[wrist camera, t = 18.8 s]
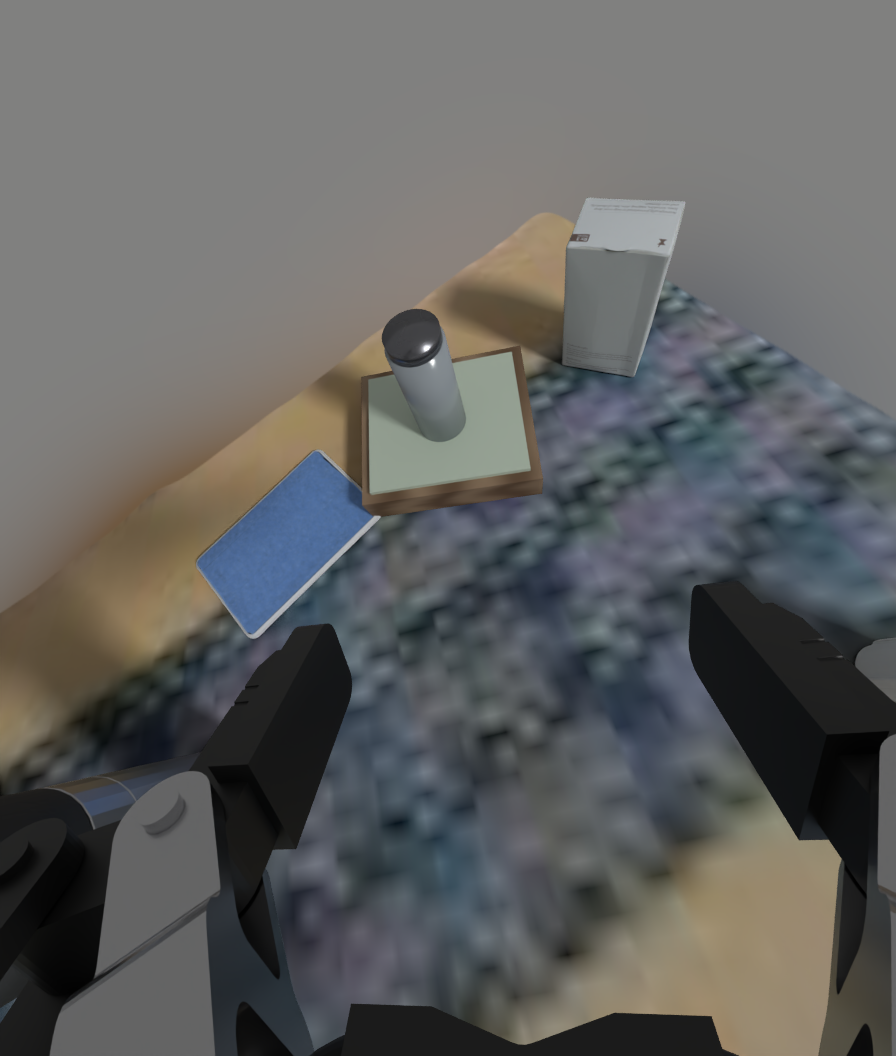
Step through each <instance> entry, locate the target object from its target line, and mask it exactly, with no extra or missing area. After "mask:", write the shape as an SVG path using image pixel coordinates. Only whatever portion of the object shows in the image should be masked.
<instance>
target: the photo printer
mask: <svg viewBox="0 0 896 1056" xmlns="http://www.w3.org/2000/svg"><path fill="white" fill-rule="evenodd" d="M855 667H856V668H857V669H858V670H859V671H861V672H862V673H863V674H864V675H865V676H866V677H867V678H868V679H869V680H870V681H871V682H873V683H874V684H875V685H876V686H877V687H878V688H879V689H880V690H881V691H882V692H884V693H885V694H886V695H887V696H888V697H889V698H890V699H891V700H892V701H894V702H896V638H890V639H881V640H876V641H873V644H872V645H869V646H867V647H864V648H863V649H862V650H861V651H860V652H859V653H858V655H857V657H856V661H855Z"/></svg>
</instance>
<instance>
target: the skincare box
mask: <svg viewBox="0 0 896 1056" xmlns="http://www.w3.org/2000/svg"><path fill="white" fill-rule="evenodd" d="M684 207H685V202H684V201H654V200H653V201H652V200H625V199H601V198H587V199H586V201H585V203H584V205H583V208H582V210H581V213H580V216H579V218H578V221H577V223H576V226H575V228H574V230H573V233H572V235H571V238H570V240H569V242H568V245H567V247H566V269H565V297H564V325H563V354H562V365H566V366H571V367H578V368H584V369H589V370H595V371H601V372H606V373H612V374H619V375H624V376H629V377H634V375H635V374H636V371H637V368H638V365H639V362H640V359H641V356H642V353H643V350H644V347H645V344H646V341H647V338H648V334H649V331H650V328H651V325H652V321H653V317H654V314H655V310H656V307H657V303H658V300H659V296H660V293H661V289H662V286H663V283H664V279H665V276H666V272H667V269H668V266H669V263H670V260H671V256H672V253H673V250H674V246H675V243H676V239H677V235H678V231H679V227H680V224H681V220H682V216H683V212H684Z"/></svg>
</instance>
